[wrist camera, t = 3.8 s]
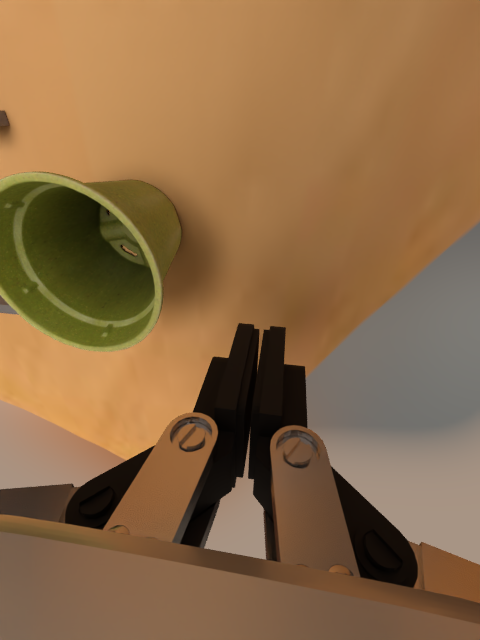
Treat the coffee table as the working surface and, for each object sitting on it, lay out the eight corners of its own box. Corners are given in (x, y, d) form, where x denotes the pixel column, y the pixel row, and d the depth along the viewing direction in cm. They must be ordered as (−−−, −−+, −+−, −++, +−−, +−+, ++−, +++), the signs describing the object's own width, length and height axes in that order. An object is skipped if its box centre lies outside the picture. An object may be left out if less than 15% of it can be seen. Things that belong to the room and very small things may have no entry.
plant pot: (230, 205, 21) (193, 253, 13) (174, 304, 26) (125, 377, 19) (99, 118, 19) (-21, 120, 12) (67, 242, 24) (-31, 296, 17)
